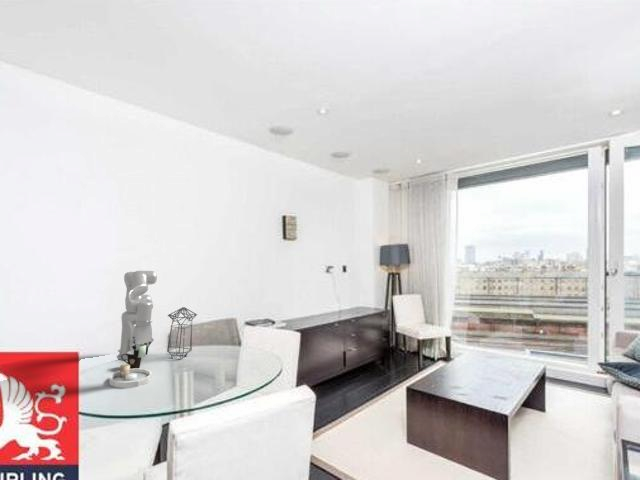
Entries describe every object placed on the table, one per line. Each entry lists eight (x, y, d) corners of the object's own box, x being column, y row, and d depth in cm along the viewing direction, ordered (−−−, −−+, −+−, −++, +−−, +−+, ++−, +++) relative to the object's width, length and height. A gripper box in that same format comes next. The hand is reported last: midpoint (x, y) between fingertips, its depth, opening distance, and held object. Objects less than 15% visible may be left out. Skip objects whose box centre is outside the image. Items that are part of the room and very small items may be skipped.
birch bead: (117, 376, 197) (118, 365, 197) (125, 373, 202) (126, 363, 202) (122, 378, 195) (123, 367, 195) (131, 375, 199) (132, 365, 199)
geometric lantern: (162, 358, 233) (166, 307, 235) (176, 352, 249) (180, 304, 251) (182, 361, 230) (186, 309, 232) (195, 355, 245) (199, 306, 247)
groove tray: (101, 381, 191) (101, 376, 191) (136, 370, 209) (136, 365, 210) (124, 391, 181) (124, 385, 181) (158, 379, 200) (159, 373, 200)
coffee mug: (144, 367, 216) (146, 351, 216) (133, 371, 208) (134, 355, 208) (130, 364, 220) (132, 348, 220) (119, 368, 212) (120, 352, 212)
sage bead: (133, 356, 192) (134, 345, 192) (141, 354, 196) (142, 343, 197) (139, 358, 190) (140, 347, 190) (147, 355, 194) (148, 345, 194)
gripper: (152, 320, 203) (149, 350, 202) (124, 324, 188) (121, 357, 187) (160, 322, 199) (158, 353, 199) (133, 327, 184) (130, 360, 184)
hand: (140, 355), depth 193 cm, fingers closed on sage bead, 4 cm apart
